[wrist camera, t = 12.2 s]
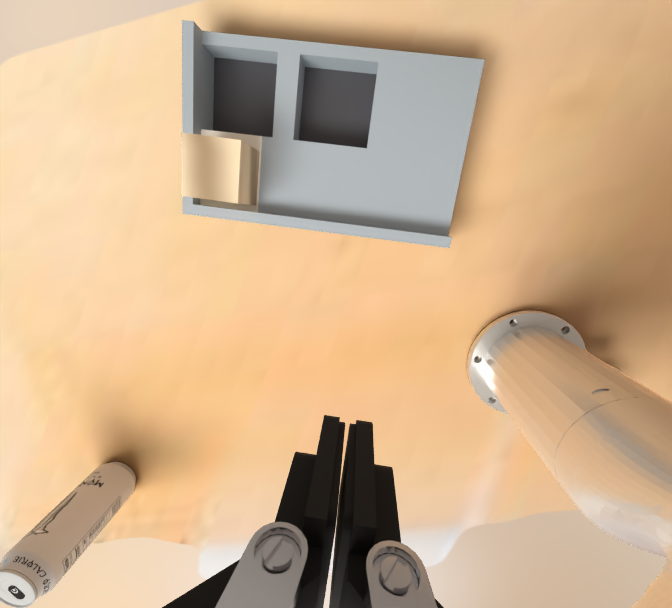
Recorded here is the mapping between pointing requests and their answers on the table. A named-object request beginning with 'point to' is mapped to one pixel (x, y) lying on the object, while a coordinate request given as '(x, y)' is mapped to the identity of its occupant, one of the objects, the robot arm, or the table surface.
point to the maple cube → (219, 169)
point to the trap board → (334, 131)
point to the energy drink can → (63, 535)
